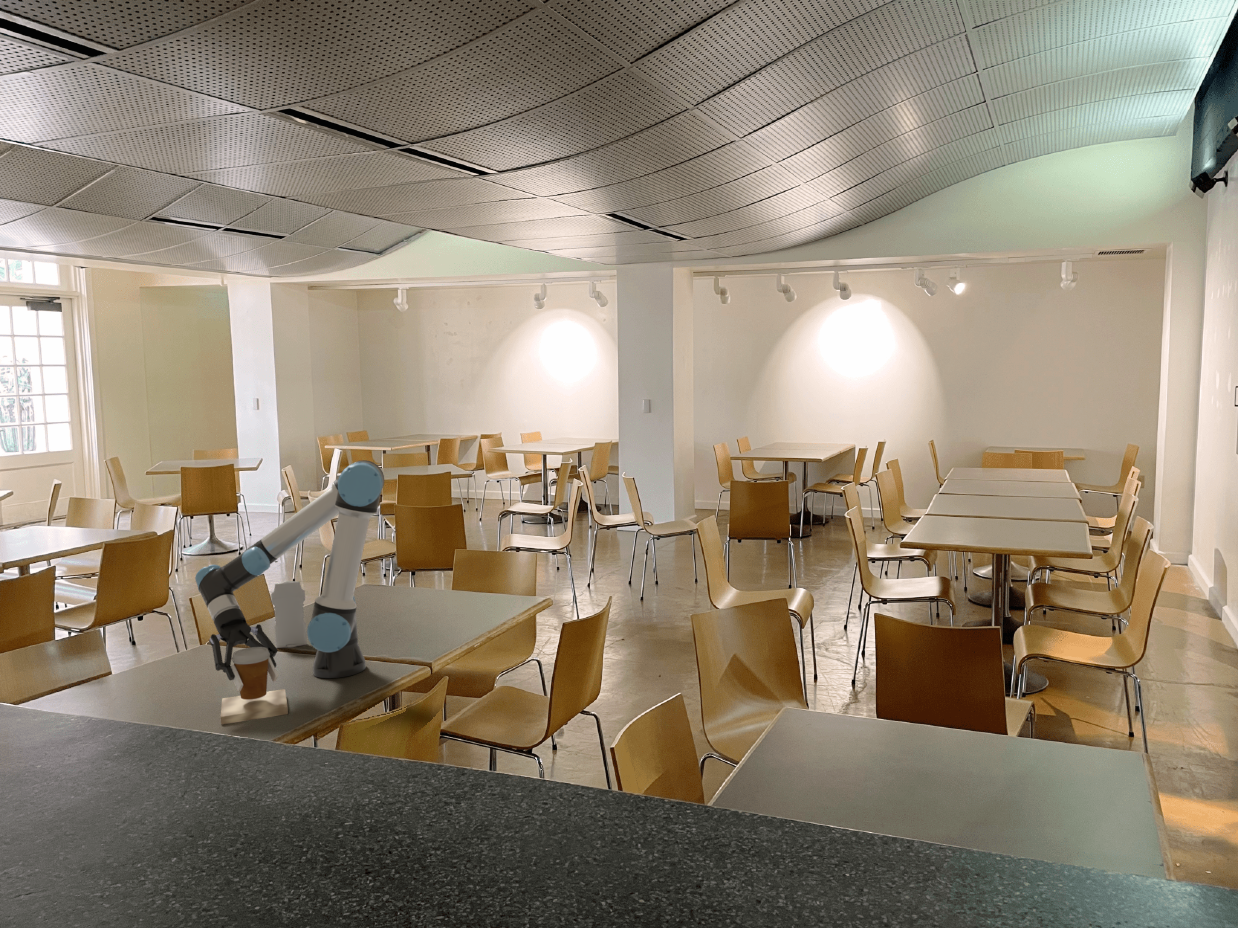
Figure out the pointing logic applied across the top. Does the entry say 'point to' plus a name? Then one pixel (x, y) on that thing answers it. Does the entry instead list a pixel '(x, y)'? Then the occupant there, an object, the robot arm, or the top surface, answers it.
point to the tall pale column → (289, 614)
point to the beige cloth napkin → (253, 707)
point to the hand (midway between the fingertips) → (258, 683)
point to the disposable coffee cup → (252, 671)
